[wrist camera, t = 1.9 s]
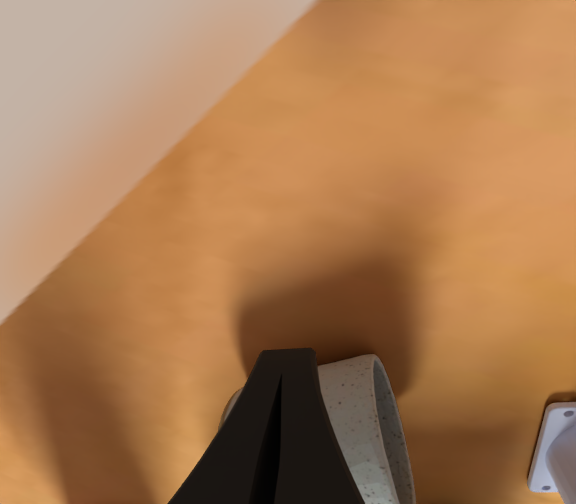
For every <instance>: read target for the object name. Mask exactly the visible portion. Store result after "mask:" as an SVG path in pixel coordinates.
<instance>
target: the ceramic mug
mask: <svg viewBox="0 0 576 504" xmlns="http://www.w3.org/2000/svg"><path fill="white" fill-rule="evenodd" d="M318 374H319V381H320V388H321V393H322V397H323V400H324V403H325V406H326V409H327V412H328V415H329V419H330V422H331V425H332V427H333V430H334V433H335V435H336V438H337V441H338V443H339V445H340V448H341V450H342V453H343V455H344V458H345V460H346V462H347V465H348V467H349V469H350V472H351V474H352V476H353V478H354V481H355V483H356V485H357V487H358V489H359V491H360V493H361V495H362V498H363V500H364V502H365V504H416V496H415V489H414V481H413V475H412V470H411V464H410V459H409V455H408V450H407V445H406V440H405V436H404V432H403V428H402V423H401V419H400V416H399V411H398V408H397V404H396V400H395V397H394V394H393V392H392V389H391V385H390V381H389V378H388V376H387V373H386V371H385V369H384V366H383V364H382V363H381V360H380V359H379V357H377V356H376V355H375V354H367V355H361V356H358V357H354V358H350V359H346V360H342V361H338V362H333V363H329V364H324V365H320V366H318ZM243 388H244V387H243ZM243 388H241V389H240V390H238V391H237V392H235V393H234V394H233V396H232V397H231V398H230V400H229V401H228V403H227V405H226V407H225V409H224V411H223V414H222V417H221V420H220V424H219V428H218V431H219V429H220V428H221V426H222V425H223V423H224V421H225V420H226V418H227V416H228V414H229V413H230V411H231V409H232V407H233V406H234V404H235V402H236V400H237V399H238V397H239V395H240V393H241V391H242V389H243Z"/></svg>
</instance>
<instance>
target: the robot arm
mask: <svg viewBox="0 0 576 504" xmlns="http://www.w3.org/2000/svg"><path fill="white" fill-rule="evenodd" d="M527 485H528V488H529V489H530V491H533V492H559V494H560V496H561V498H562V500H563V502H564V504H576V402H557V403H552V404H550V405H549V406H548V407H547V408H546V411H545V415H544V419H543V423H542V427H541V430H540V434H539V438H538V442H537V446H536V450H535V454H534V457H533V461H532V465H531V469H530V473H529V477H528V481H527ZM168 504H365V502H364V500H363V498H362V495H361V493H360V491H359V489H358V487H357V485H356V483H355V481H354V478H353V476H352V474H351V472H350V469H349V467H348V465H347V462H346V460H345V458H344V455H343V453H342V450H341V448H340V445H339V443H338V441H337V438H336V435H335V433H334V430H333V427H332V425H331V422H330V419H329V415H328V412H327V409H326V406H325V403H324V400H323V397H322V393H321V388H320V381H319V374H318V366H317V359H316V352H315V351H314V350H313V349H312V348H299V349H281V350H263V351H262V352H261V353H260V355H259V357H258V359H257V361H256V364H255V366H254V368H253V370H252V372H251V374H250V376H249V378H248V380H247V382H246V384H245V386H244V388H243V389H242V391H241V393H240V395H239V397H238V399H237V400H236V402H235V404H234V406H233V407H232V409H231V411H230V413H229V414H228V416H227V418H226V420H225V421H224V423H223V425H222V426H221V428H220V429H219V431H218V433H217V434H216V436H215V437H214V439H213V440H212V442H211V443H210V445H209V447H208V448H207V450H206V451H205V453H204V454H203V456H202V457H201V459H200V460H199V462H198V463H197V465H196V466H195V467H194V469H193V470H192V472H191V473H190V474H189V476H188V477H187V479H186V480H185V481H184V483H183V484H182V485H181V487H180V488H179V489H178V491H177V492H176V493H175V495H174V496H173V497H172V499H171V500H170V501H169V502H168Z"/></svg>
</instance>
